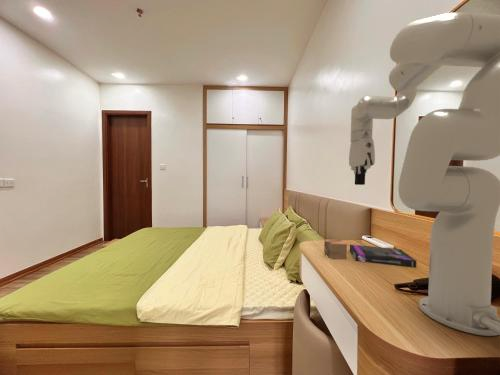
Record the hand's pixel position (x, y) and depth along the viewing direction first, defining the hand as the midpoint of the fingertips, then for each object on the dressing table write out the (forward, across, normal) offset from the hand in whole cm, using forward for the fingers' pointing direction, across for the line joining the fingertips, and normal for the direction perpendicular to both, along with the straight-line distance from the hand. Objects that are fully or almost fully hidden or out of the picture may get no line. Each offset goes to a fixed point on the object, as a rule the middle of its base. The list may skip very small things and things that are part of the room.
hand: (359, 184), depth 86 cm
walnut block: (+22, +1, +9) cm, 24 cm away
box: (+29, -1, -8) cm, 30 cm away
